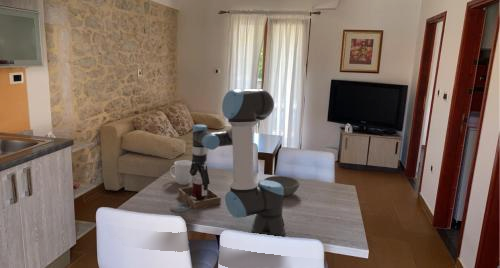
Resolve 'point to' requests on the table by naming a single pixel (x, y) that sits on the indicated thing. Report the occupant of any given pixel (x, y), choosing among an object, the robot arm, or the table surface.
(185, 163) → the mug
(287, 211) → the table surface
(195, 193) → the mug
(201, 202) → the caddy
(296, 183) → the bowl
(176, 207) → the coaster
